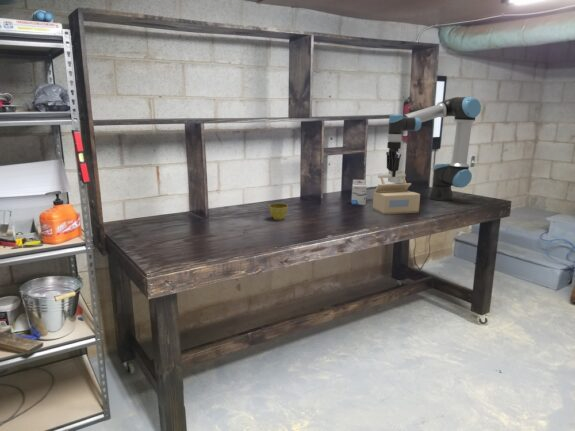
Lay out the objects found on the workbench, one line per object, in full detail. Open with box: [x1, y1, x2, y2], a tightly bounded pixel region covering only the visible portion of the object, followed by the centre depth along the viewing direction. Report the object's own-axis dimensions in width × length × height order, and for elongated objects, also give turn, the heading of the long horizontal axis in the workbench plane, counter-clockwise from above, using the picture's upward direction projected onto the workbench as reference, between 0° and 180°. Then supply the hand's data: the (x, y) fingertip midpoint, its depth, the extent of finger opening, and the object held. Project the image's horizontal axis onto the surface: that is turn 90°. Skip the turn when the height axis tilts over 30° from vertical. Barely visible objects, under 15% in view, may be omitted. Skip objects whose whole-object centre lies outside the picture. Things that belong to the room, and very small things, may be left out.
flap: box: [373, 173, 412, 193], centre depth 259 cm, size 21×8×7 cm
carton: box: [372, 190, 421, 215], centre depth 255 cm, size 22×14×11 cm, turn 105°
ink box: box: [350, 179, 368, 206], centre depth 271 cm, size 9×5×15 cm, turn 84°
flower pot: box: [268, 203, 289, 221], centre depth 235 cm, size 10×10×7 cm
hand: (391, 181), depth 259 cm, fingers closed on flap, 2 cm apart
